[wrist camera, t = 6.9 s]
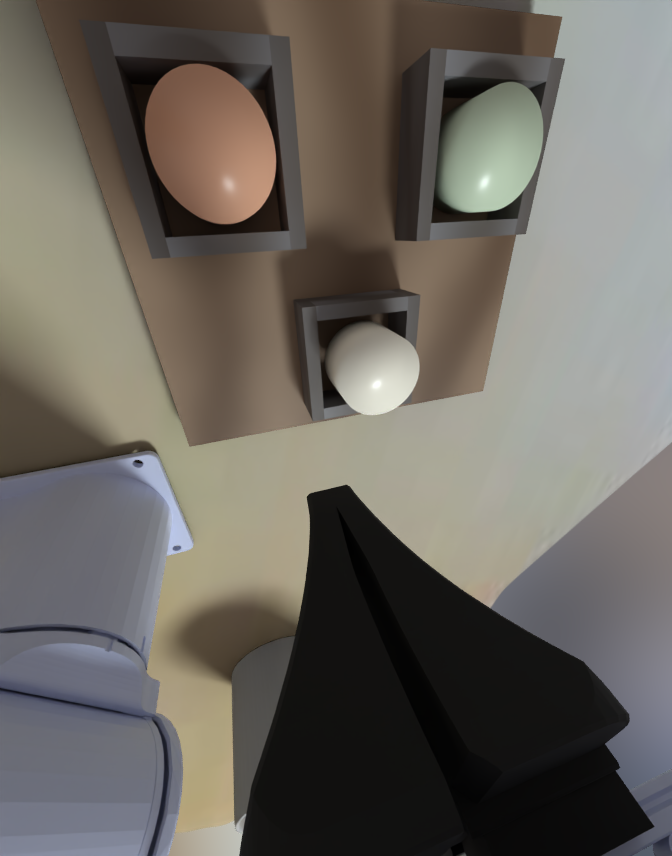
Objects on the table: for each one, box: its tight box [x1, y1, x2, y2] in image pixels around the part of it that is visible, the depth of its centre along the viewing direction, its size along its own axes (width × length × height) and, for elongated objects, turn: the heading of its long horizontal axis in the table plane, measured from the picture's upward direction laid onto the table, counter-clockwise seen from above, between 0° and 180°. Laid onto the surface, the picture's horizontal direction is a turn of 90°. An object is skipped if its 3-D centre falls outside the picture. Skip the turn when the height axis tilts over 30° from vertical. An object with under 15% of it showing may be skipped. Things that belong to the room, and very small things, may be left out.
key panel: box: [36, 0, 565, 446], centre depth 15 cm, size 18×16×4 cm
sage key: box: [433, 82, 543, 214], centre depth 13 cm, size 4×4×2 cm
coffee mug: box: [232, 636, 295, 834], centre depth 31 cm, size 13×10×10 cm
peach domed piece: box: [145, 64, 276, 225], centre depth 11 cm, size 4×4×2 cm
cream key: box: [325, 320, 420, 415], centre depth 15 cm, size 4×4×2 cm
